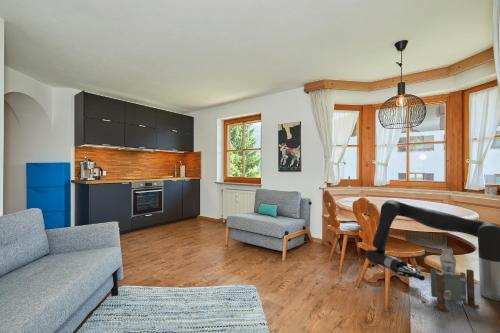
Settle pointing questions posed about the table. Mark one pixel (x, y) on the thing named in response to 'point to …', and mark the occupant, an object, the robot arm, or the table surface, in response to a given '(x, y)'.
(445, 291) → the post
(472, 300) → the hinge post
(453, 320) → the table surface
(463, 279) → the gate
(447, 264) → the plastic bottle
